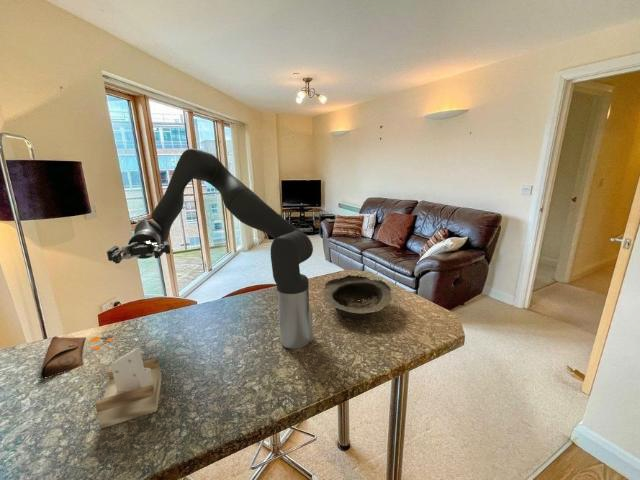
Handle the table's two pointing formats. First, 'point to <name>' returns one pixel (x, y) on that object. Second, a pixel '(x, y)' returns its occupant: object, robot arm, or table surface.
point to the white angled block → (131, 371)
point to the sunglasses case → (63, 355)
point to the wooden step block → (129, 399)
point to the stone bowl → (357, 296)
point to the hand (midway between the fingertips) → (136, 257)
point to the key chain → (103, 340)
